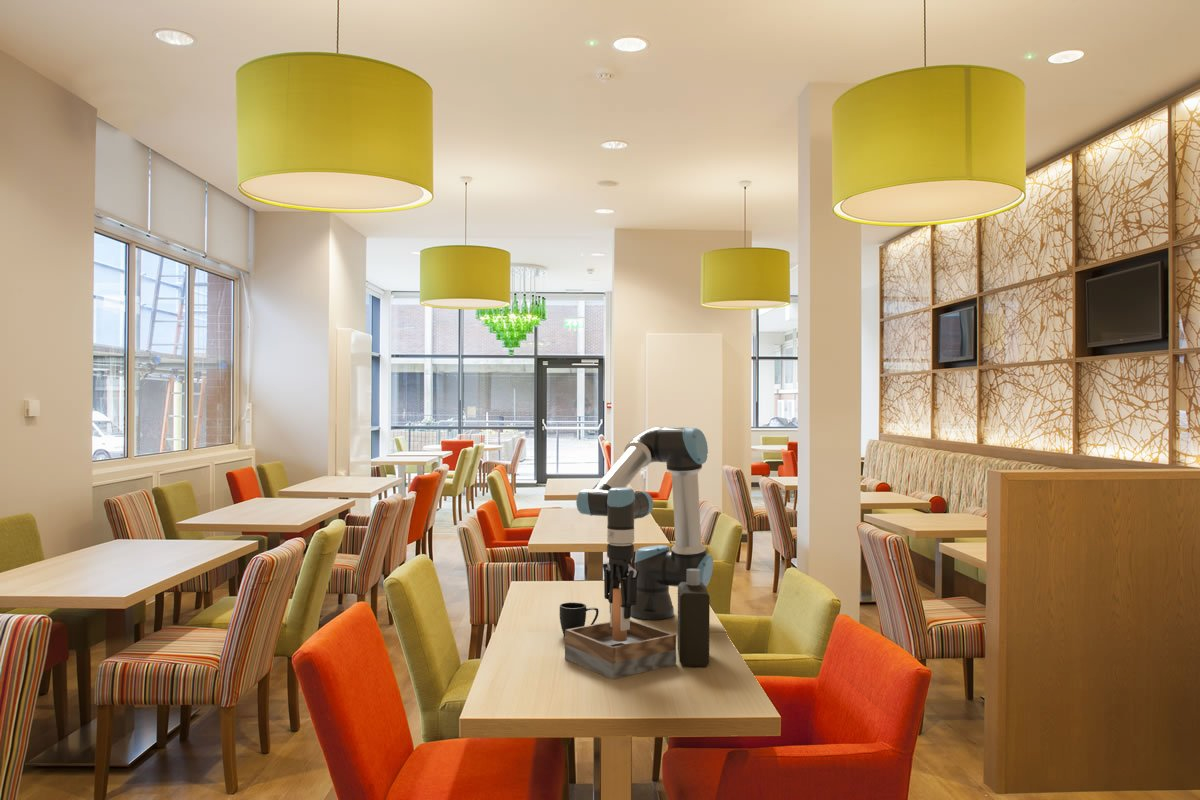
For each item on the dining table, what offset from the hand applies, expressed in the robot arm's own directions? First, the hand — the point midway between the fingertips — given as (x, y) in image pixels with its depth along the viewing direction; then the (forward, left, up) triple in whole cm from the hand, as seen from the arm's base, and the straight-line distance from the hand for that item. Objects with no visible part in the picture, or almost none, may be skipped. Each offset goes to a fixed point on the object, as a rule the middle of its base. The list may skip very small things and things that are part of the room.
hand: (619, 627), depth 229 cm
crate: (0, 0, -9) cm, 9 cm away
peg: (0, 0, -3) cm, 3 cm away
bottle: (-18, +10, -10) cm, 23 cm away
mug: (-5, -27, -10) cm, 29 cm away
